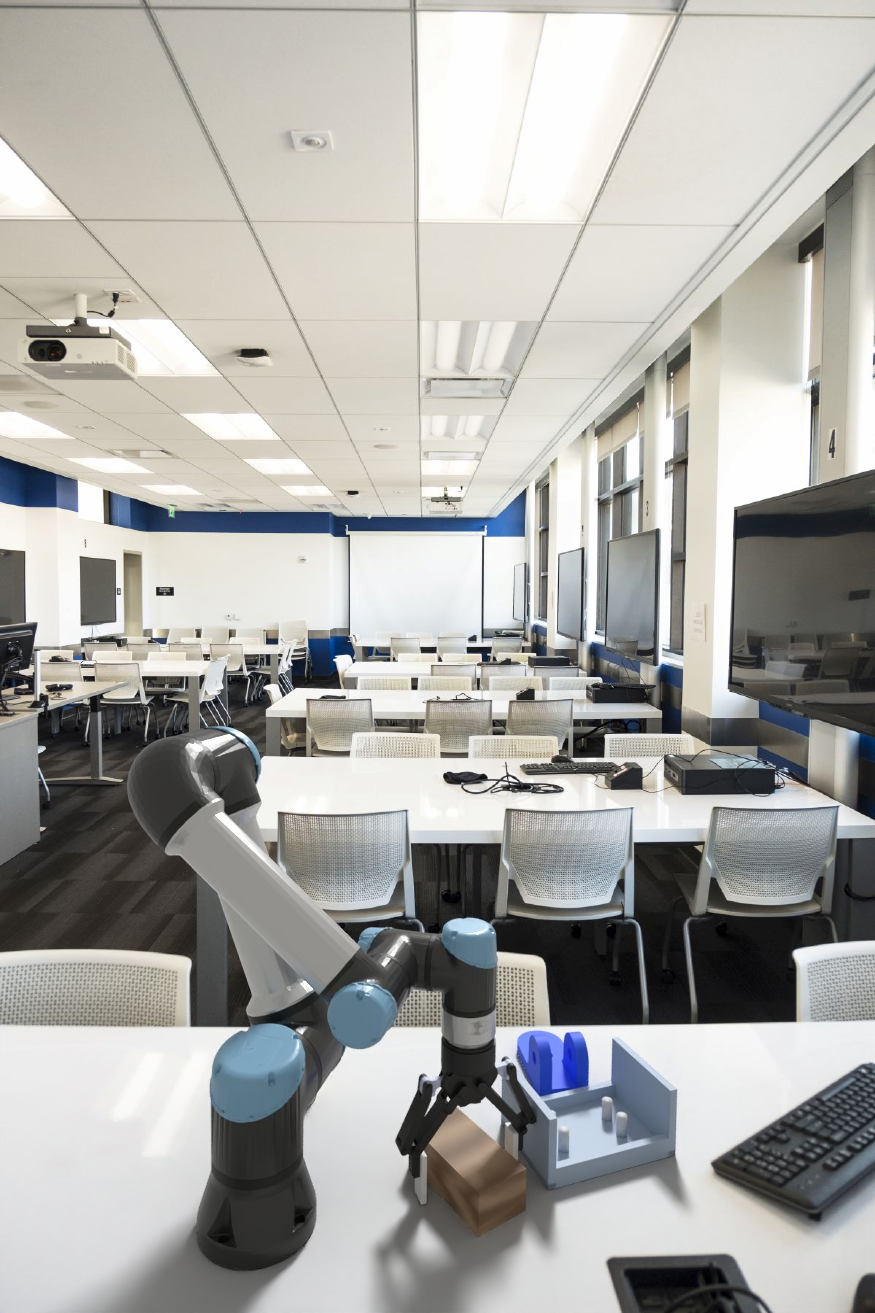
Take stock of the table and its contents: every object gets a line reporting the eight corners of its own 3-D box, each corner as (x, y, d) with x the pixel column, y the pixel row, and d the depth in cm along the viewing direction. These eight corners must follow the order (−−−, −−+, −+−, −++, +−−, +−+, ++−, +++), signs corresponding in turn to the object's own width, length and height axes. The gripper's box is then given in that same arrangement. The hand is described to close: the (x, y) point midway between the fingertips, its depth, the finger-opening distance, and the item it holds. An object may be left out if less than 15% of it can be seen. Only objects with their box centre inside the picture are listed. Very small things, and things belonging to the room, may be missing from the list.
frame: (548, 1190, 107) (549, 1120, 106) (501, 1123, 121) (502, 1060, 121) (675, 1155, 114) (677, 1089, 114) (616, 1095, 129) (618, 1036, 128)
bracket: (588, 1098, 128) (589, 1045, 128) (539, 1102, 127) (540, 1049, 126) (555, 1040, 146) (556, 993, 145) (512, 1043, 144) (513, 996, 144)
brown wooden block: (525, 1212, 103) (526, 1169, 103) (478, 1239, 99) (479, 1193, 98) (454, 1145, 116) (455, 1106, 116) (410, 1165, 112) (410, 1125, 112)
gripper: (389, 1067, 99) (388, 1228, 100) (561, 1033, 107) (559, 1181, 108) (373, 1037, 106) (372, 1188, 107) (536, 1007, 114) (534, 1147, 115)
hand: (466, 1185), depth 107 cm, fingers open, 13 cm apart
